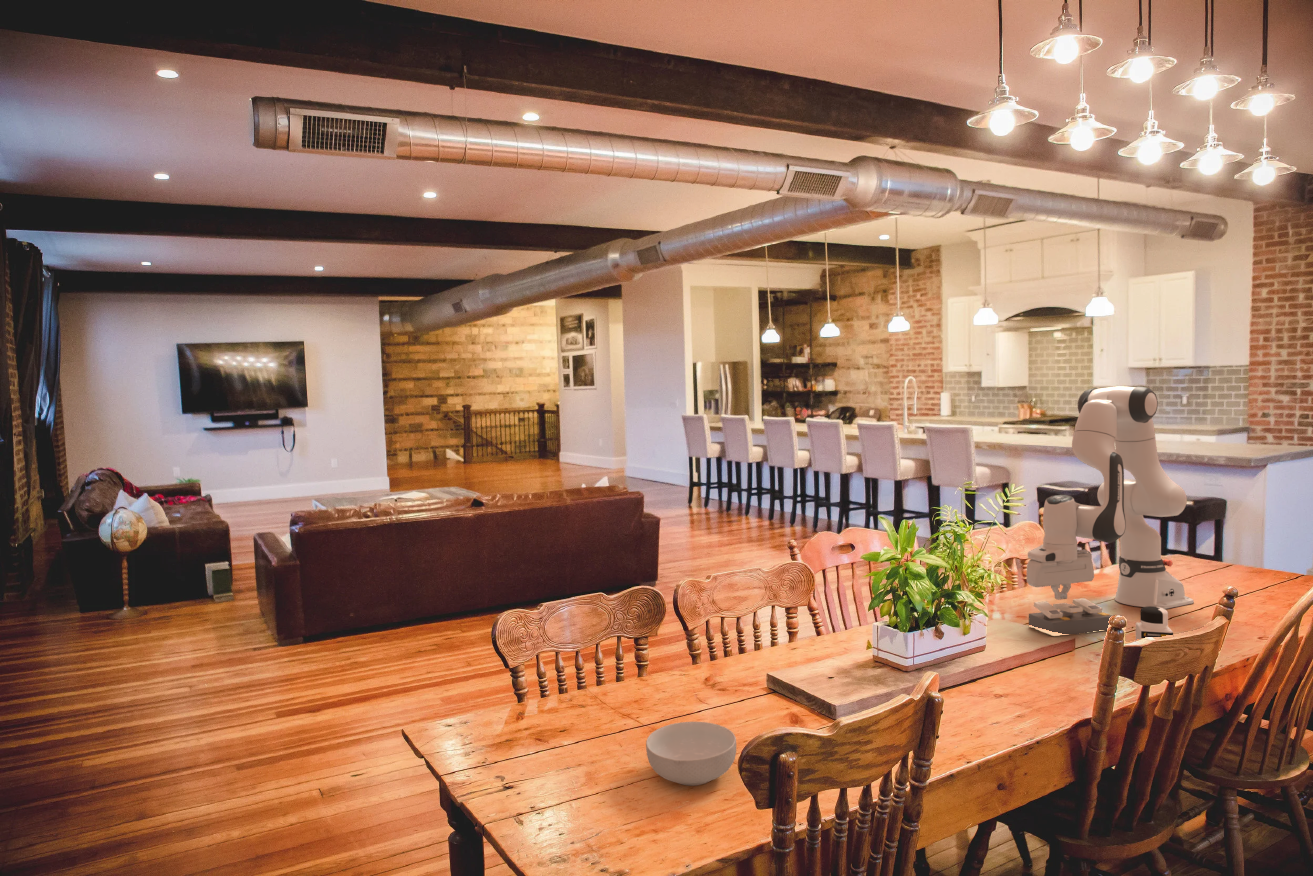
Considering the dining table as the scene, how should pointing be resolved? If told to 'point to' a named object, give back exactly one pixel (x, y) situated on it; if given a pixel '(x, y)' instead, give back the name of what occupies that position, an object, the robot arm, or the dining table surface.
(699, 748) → the cereal bowl
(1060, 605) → the rocker
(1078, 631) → the switch unit
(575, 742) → the dining table surface
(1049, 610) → the rocker
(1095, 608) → the rocker
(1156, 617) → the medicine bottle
